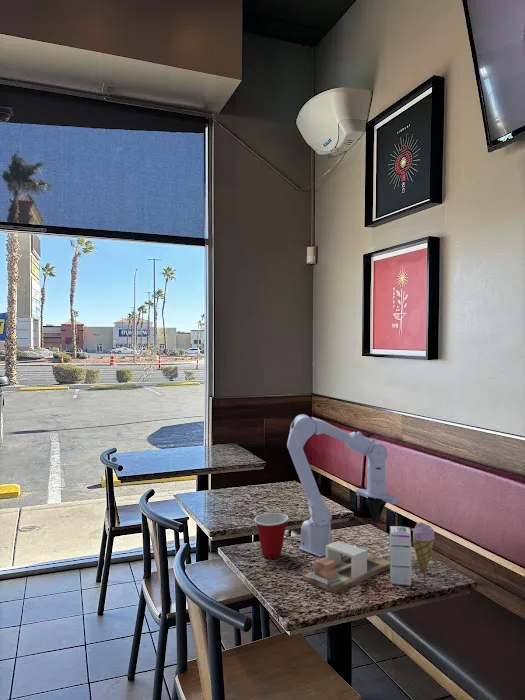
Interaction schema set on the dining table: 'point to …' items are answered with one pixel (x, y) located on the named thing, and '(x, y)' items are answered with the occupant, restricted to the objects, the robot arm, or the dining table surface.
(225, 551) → the dining table surface
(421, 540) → the ice cream cone
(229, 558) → the dining table surface
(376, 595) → the dining table surface
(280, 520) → the plastic cup
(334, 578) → the sled
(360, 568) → the tunnel
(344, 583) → the frame
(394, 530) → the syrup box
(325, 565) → the terracotta block
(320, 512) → the robot arm
